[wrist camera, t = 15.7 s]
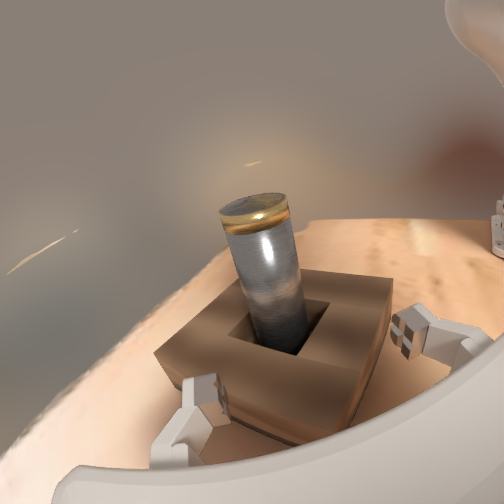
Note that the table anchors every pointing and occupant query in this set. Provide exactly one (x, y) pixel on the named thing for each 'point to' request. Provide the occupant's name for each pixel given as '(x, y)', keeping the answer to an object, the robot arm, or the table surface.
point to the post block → (289, 356)
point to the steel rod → (268, 269)
